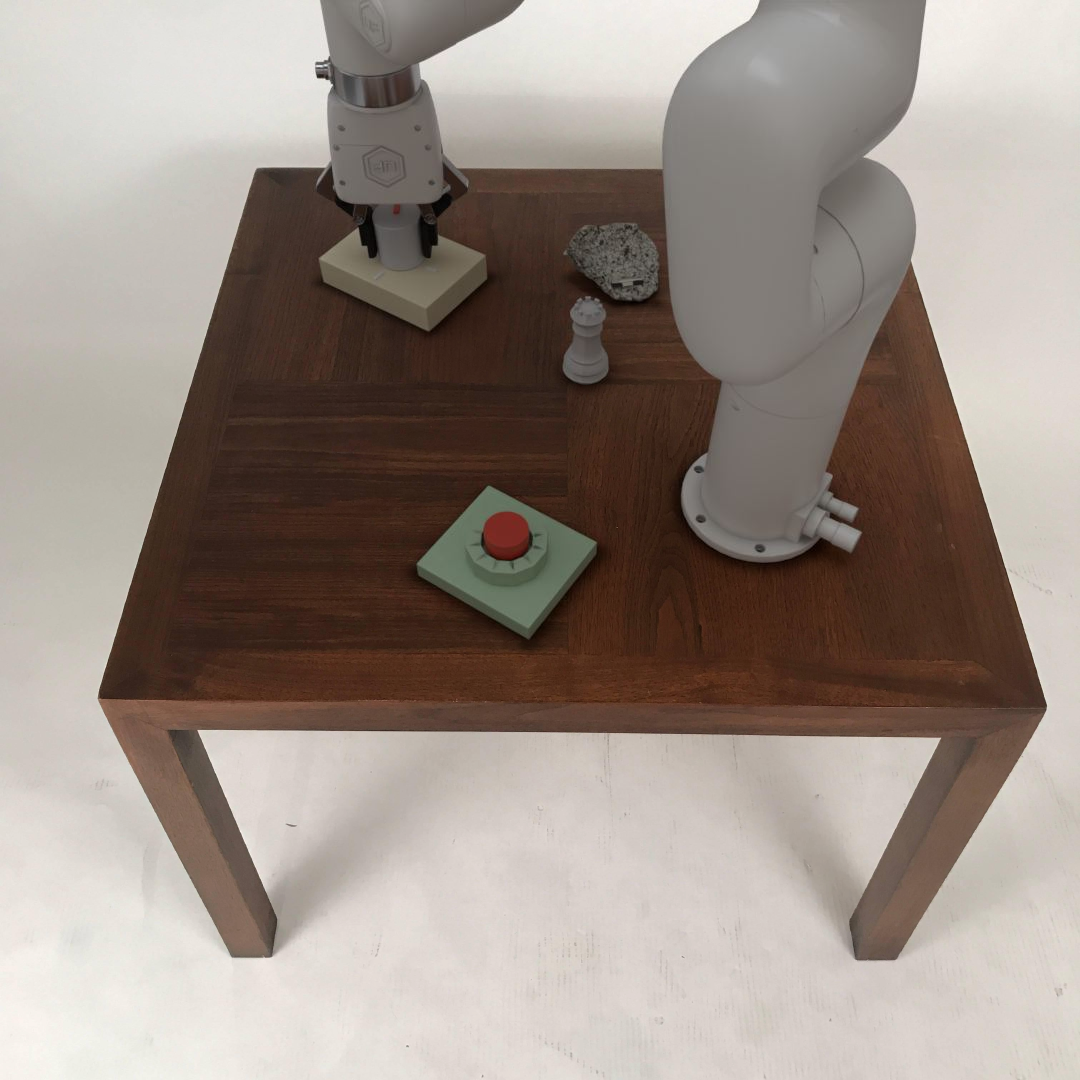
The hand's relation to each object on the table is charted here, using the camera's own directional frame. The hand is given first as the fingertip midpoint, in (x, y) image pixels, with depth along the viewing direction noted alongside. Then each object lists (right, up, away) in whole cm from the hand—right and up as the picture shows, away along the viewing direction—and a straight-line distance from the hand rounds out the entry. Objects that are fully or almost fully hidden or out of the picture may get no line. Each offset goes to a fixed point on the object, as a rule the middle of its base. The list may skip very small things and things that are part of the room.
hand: (401, 248), depth 100 cm
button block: (+11, -32, -19) cm, 39 cm away
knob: (0, -1, +1) cm, 1 cm away
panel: (0, -2, +3) cm, 4 cm away
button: (+11, -30, -21) cm, 38 cm away
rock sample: (+23, -2, +3) cm, 23 cm away
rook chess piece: (+18, -13, -5) cm, 23 cm away
